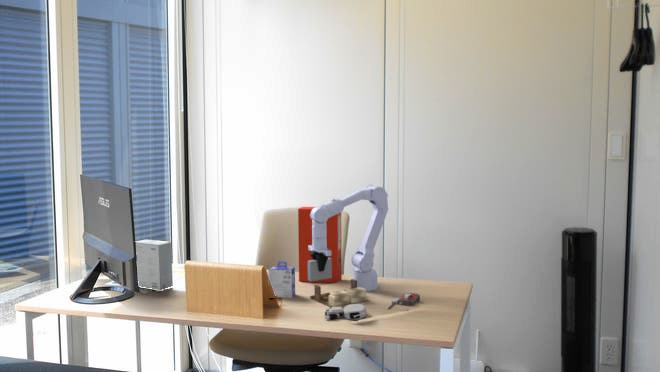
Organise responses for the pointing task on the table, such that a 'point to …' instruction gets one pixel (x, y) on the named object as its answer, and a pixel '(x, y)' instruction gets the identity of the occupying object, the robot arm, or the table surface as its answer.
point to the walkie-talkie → (406, 300)
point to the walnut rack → (324, 297)
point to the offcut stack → (347, 296)
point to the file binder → (332, 244)
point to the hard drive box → (154, 264)
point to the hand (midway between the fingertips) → (319, 270)
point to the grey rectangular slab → (314, 272)
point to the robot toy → (346, 312)
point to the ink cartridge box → (282, 280)
